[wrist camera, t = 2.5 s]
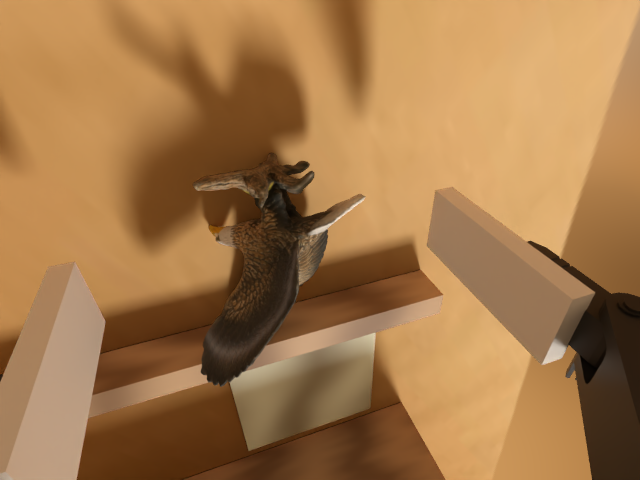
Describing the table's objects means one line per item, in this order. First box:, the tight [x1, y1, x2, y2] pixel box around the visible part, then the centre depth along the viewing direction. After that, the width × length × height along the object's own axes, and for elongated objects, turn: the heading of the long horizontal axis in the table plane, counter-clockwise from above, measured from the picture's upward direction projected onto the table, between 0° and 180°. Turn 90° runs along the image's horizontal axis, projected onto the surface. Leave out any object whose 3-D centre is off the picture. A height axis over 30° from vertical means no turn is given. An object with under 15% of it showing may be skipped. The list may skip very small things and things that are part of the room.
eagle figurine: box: [193, 153, 365, 387], centre depth 17 cm, size 8×7×9 cm
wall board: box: [88, 270, 445, 480], centre depth 22 cm, size 24×16×10 cm, turn 92°
